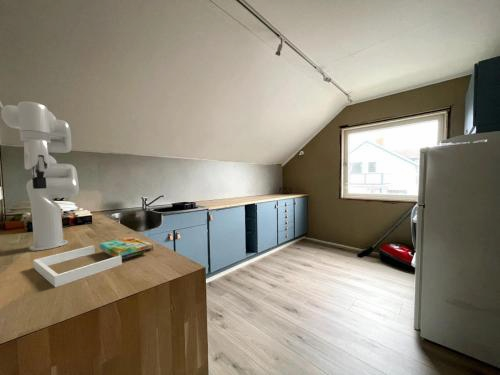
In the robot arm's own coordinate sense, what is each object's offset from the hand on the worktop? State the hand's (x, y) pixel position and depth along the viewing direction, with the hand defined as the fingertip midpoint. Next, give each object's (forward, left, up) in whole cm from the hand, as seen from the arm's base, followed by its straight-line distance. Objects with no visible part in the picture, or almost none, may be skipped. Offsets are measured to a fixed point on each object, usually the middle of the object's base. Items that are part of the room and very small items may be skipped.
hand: (39, 188), depth 75 cm
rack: (+18, +5, -27) cm, 33 cm away
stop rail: (+18, +26, -27) cm, 42 cm away
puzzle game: (+19, +19, -27) cm, 39 cm away
